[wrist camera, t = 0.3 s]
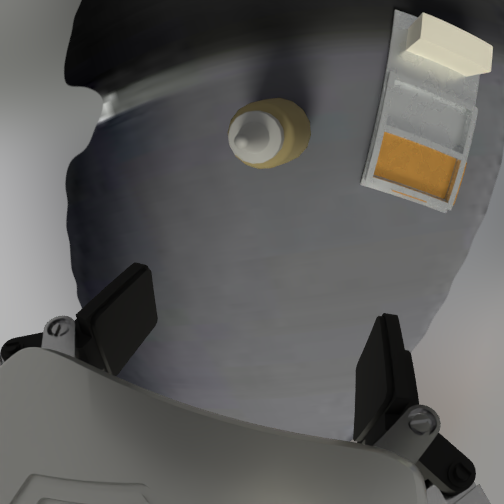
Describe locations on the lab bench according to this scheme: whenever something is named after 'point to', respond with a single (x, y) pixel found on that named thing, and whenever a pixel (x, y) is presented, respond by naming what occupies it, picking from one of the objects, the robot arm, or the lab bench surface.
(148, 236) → the lab bench surface
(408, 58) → the grey framed tray board
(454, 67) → the tall ivory prism
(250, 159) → the squeeze bottle
